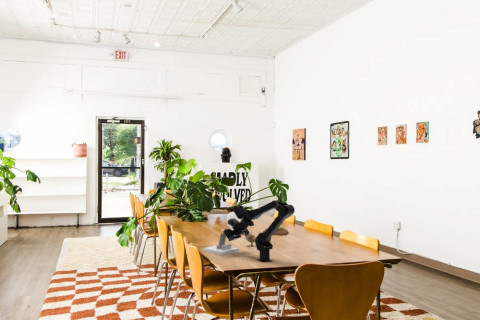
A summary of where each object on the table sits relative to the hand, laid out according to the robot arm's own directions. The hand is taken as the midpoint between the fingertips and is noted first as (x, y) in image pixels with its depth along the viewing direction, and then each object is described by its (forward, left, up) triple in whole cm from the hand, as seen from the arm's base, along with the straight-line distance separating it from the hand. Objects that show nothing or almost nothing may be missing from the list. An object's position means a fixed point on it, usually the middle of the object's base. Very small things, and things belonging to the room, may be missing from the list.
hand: (229, 240), depth 275 cm
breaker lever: (+6, +3, -4) cm, 8 cm away
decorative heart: (+59, -33, -8) cm, 68 cm away
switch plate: (+6, +3, -8) cm, 10 cm away
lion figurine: (+12, -25, -8) cm, 29 cm away
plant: (+54, -63, -8) cm, 83 cm away
